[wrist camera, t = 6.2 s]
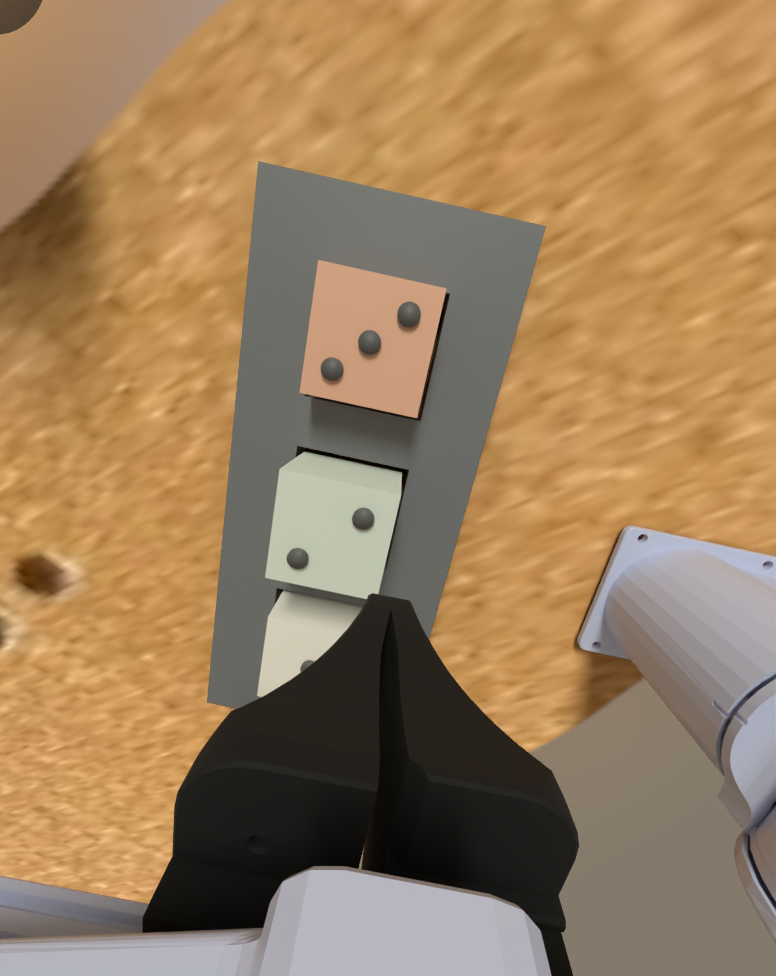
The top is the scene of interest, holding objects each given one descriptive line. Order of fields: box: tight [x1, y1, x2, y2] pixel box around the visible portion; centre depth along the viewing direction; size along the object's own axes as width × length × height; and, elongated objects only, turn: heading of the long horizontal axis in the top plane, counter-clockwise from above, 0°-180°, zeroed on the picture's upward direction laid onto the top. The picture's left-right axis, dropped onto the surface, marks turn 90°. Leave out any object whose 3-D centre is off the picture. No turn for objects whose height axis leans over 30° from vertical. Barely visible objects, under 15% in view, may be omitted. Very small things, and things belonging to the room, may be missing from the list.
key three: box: [300, 260, 447, 418], centre depth 17 cm, size 5×5×4 cm
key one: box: [257, 590, 363, 697], centre depth 21 cm, size 5×5×4 cm
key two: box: [265, 451, 402, 599], centre depth 18 cm, size 5×5×4 cm
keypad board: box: [207, 161, 546, 709], centre depth 20 cm, size 12×28×2 cm, turn 168°
